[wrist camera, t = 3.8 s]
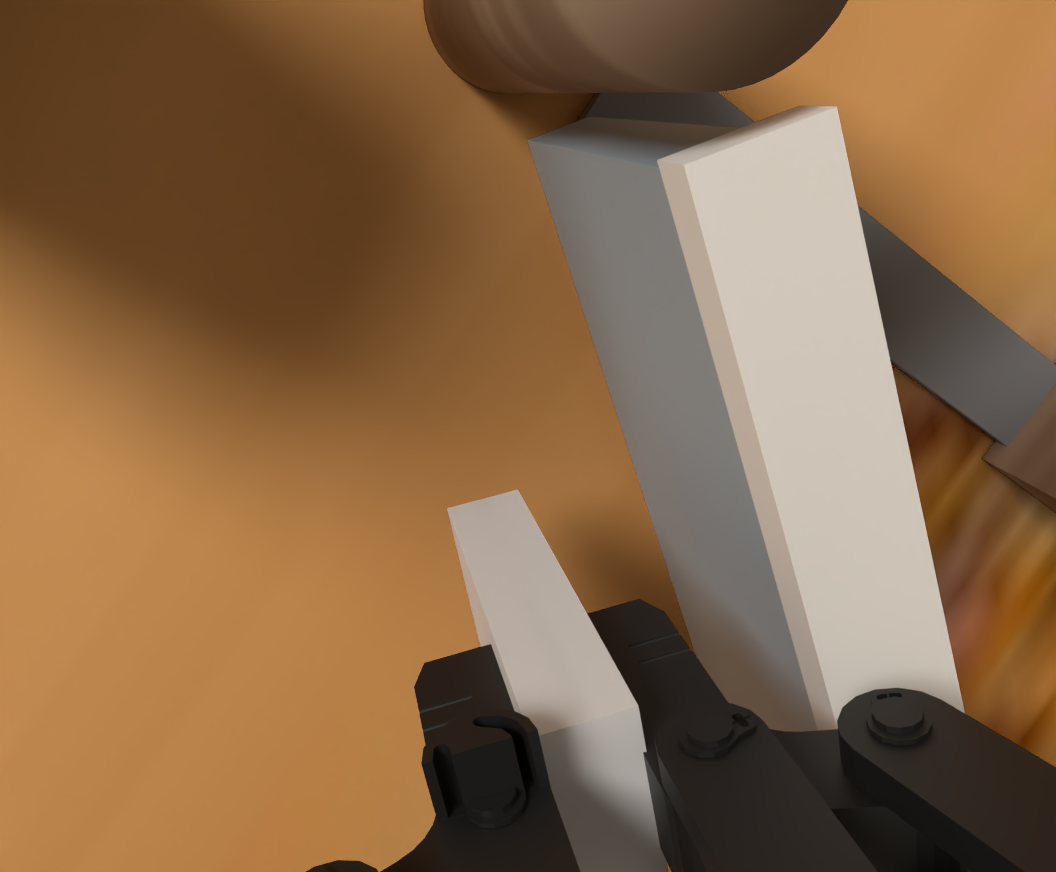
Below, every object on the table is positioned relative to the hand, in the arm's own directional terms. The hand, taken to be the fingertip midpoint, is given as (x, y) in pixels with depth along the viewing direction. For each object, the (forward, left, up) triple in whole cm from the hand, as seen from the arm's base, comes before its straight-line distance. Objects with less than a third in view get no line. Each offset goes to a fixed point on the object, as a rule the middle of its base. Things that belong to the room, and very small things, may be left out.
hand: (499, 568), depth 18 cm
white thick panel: (+3, -2, -3) cm, 5 cm away
